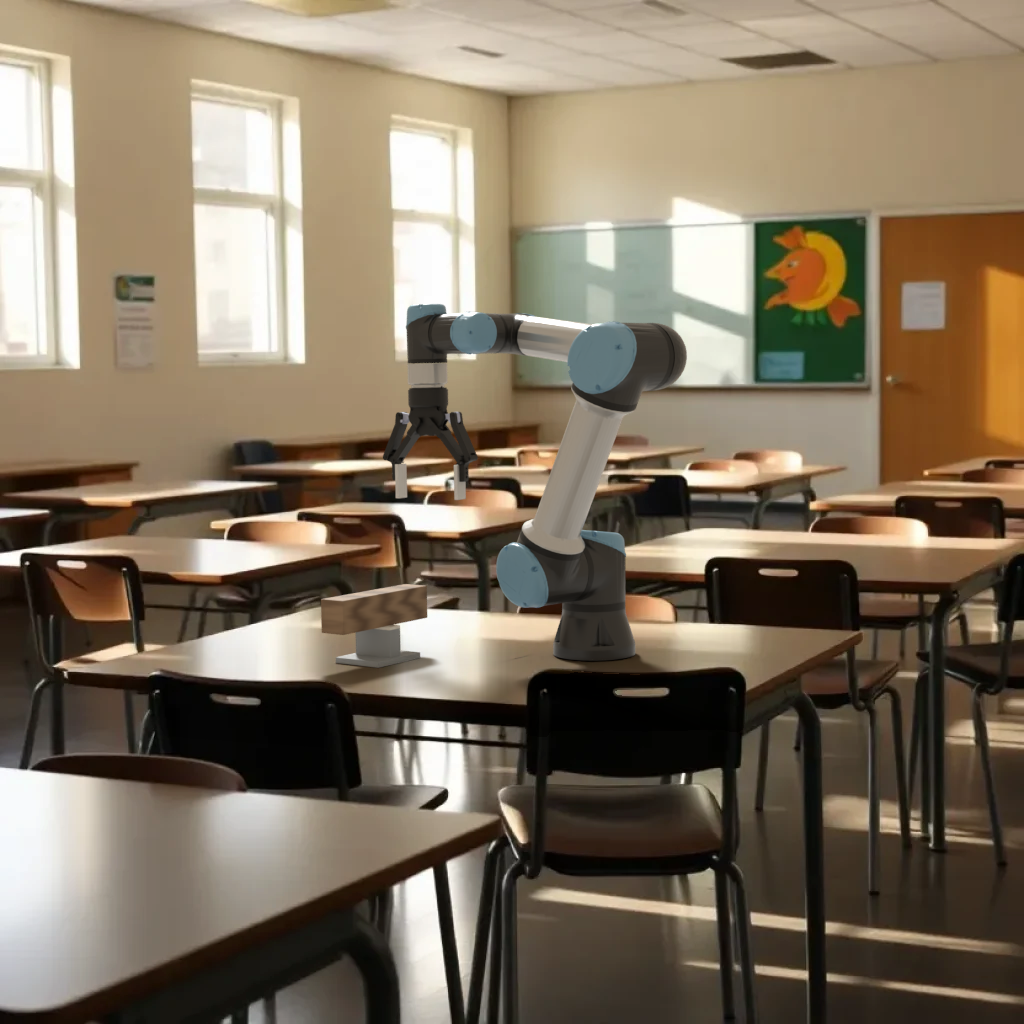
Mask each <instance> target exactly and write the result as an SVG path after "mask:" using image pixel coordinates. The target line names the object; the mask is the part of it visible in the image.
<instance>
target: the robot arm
mask: <svg viewBox="0 0 1024 1024" xmlns="http://www.w3.org/2000/svg"><path fill="white" fill-rule="evenodd" d="M405 329H406V352H407V353H406V354H407V355H406V356H407V358H406V359H407V384H408V386H411V387H409V388H408V390H407V396H408V397H407V398H408V407H409V413H408V412H407V411H399V412H396V413H395V420H394V425H393V429H392V431H391V434H390V436H389V438H388V442H387V444H386V447H385V450H384V452H383V455H382V460H384V461H387V462H389V463H391V472H392V473H391V476H392V481H395V482H394V483H395V499H405V498H408V480H407V479H408V477H407V476H408V475H407V473H408V472H407V468H408V467H407V463H405V461H404V460H405V459H406V457H407V456H408V454H409V453H410V452H411V450H412V448H413V447H414V446H415V445H416V443H417V441H418V440H419V438H420V437H425V436H428V437H433V436H434V437H435V436H436V437H437V438H439V439H440V440H441V443H442V444H443V445H444V446H445V448H446V449H447V450H448V452H449V453H450V454H451V456H452V458H453V459H454V460H455V462H456V463H455V464H454V465H453V487H454V489H453V490H454V491H453V493H454V495H453V496H454V497H453V498H454V499H453V500H454V501H459V500H461V501H462V500H467V496H466V495H467V493H466V492H467V490H466V489H467V488H466V484H467V483H466V482H469V479H470V478H469V477H470V476H469V475H470V474H469V465H470V463H473V462H476V461H478V458H479V457H478V455H477V452H476V449H475V447H474V445H473V442H472V440H471V438H470V435H469V434H468V432H467V429H466V427H465V424H464V421H463V420H464V418H463V413H462V412H461V411H451V412H450V413H449V412H448V406H449V389H448V388H447V387H445V385H447V384H448V383H449V381H448V378H449V377H448V355H463V354H464V355H465V354H466V355H472V354H473V355H480V354H482V355H484V354H485V355H486V354H487V355H488V354H511V355H519V356H523V357H524V356H525V357H533V358H538V359H539V358H540V359H546V360H550V361H557V362H565V363H566V364H567V367H569V369H568V375H569V378H570V380H571V382H572V384H571V387H570V388H571V392H572V393H573V395H574V398H575V402H574V404H573V405H574V406H573V408H572V411H571V412H570V413H571V414H570V416H569V419H568V422H567V425H566V428H565V430H564V434H563V436H562V439H561V442H560V445H559V446H558V450H557V454H556V456H555V459H554V462H553V464H552V468H551V470H550V473H549V476H548V479H547V482H546V484H545V488H544V491H543V493H542V496H541V498H540V501H539V504H538V507H537V511H536V512H535V515H534V517H533V518H531V519H530V520H526V521H525V522H524V523H523V525H522V526H521V529H520V532H519V535H518V538H517V541H515V542H514V541H513V542H510V543H508V544H507V545H505V546H503V548H501V550H500V551H499V553H498V555H497V558H496V563H495V565H496V567H495V570H496V571H495V572H496V578H497V580H498V584H499V587H500V589H501V592H502V593H503V594H504V596H505V598H507V599H508V601H510V602H511V603H512V604H513V605H515V606H517V607H519V608H536V609H538V608H541V607H545V606H551V605H559V604H561V605H562V608H561V609H562V610H561V611H562V612H561V617H560V620H559V623H558V626H557V629H556V632H555V633H556V634H555V635H554V640H553V645H552V647H553V648H552V649H553V651H552V652H553V656H554V657H556V658H561V659H565V660H573V661H574V660H575V661H593V662H594V661H612V660H621V659H628V658H631V657H634V656H635V655H636V641H635V639H634V635H633V631H632V629H631V625H630V622H629V619H628V617H627V612H626V610H627V609H626V560H627V559H626V558H627V553H626V548H625V545H626V544H625V538H624V537H623V535H621V534H620V533H618V532H611V531H599V530H590V529H589V530H588V529H587V530H585V529H583V528H584V525H585V522H586V520H587V517H588V515H589V512H590V508H591V505H592V503H593V501H594V498H595V495H596V493H597V491H598V488H599V484H600V482H601V478H602V477H603V475H604V474H603V473H604V471H605V469H606V465H607V462H608V459H609V457H610V454H611V452H612V449H613V445H614V444H615V440H616V438H617V436H618V435H617V434H618V432H619V430H620V427H621V424H622V421H623V419H624V417H625V416H626V415H630V414H632V413H634V412H635V411H636V410H637V406H638V404H639V402H640V399H641V396H642V394H643V392H650V391H651V392H652V391H660V390H663V389H666V388H668V387H670V386H672V384H674V383H676V381H678V380H679V378H680V377H681V376H682V375H683V372H684V371H685V369H686V366H687V365H686V364H687V359H688V358H687V357H688V354H687V346H686V344H685V342H684V340H683V338H682V336H681V335H680V334H679V333H678V332H677V331H676V330H675V329H673V328H672V327H670V326H668V325H666V324H662V323H660V322H659V323H658V322H619V321H614V320H613V321H605V322H602V323H601V322H600V323H599V322H598V323H594V324H593V323H586V322H579V321H573V320H572V321H571V320H564V319H557V318H550V317H549V318H548V317H542V316H536V315H534V314H530V313H524V312H516V313H496V312H495V313H488V312H486V313H485V312H479V311H464V312H455V313H447V308H446V305H444V304H441V303H422V304H421V303H420V304H419V303H416V304H411V305H409V307H407V311H406V325H405ZM409 423H410V424H411V425H410V427H409V429H408V430H407V427H408V424H409ZM447 423H449V424H450V427H451V429H452V431H451V430H450V428H449V427H448V425H447ZM406 430H407V432H406ZM452 432H453V434H454V435H453V434H452ZM405 433H406V435H405ZM404 436H405V437H404ZM454 436H455V437H454Z"/></svg>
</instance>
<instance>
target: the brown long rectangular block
mask: <svg viewBox="0 0 1024 1024" xmlns="http://www.w3.org/2000/svg"><path fill="white" fill-rule="evenodd" d="M320 616H321V617H320V618H321V621H320V622H321V634H328V635H339V636H345V635H351V634H356V632H361V631H365V630H370V629H375V628H380V627H385V626H390V625H399V624H404V623H407V622H412V621H413V622H414V621H417V620H423V619H427V618H428V585H422V584H409V583H408V584H407V583H403V584H398V585H392V586H386V587H381V588H376V589H371V590H370V589H369V590H364V591H360V592H355V593H348V594H343V595H336V596H332V597H326V598H321V599H320Z"/></svg>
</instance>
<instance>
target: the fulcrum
mask: <svg viewBox="0 0 1024 1024" xmlns="http://www.w3.org/2000/svg"><path fill="white" fill-rule="evenodd" d="M420 658H421V652H420V651H419V652H418V651H409V650H403V649H402V650H401V625H399V624H394V625H390V626H385V627H380V628H375V629H370V630H365V631H361V632H356V633H355V652H354V653H349V654H345V655H339V656H335V663H336V664H344V665H350V666H351V665H352V666H360V667H369V668H370V667H371V668H378V669H379V668H383V667H387V666H391V665H395V664H399V663H400V664H401V663H405V662H409V661H412V660H413V661H414V660H418V659H420Z"/></svg>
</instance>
